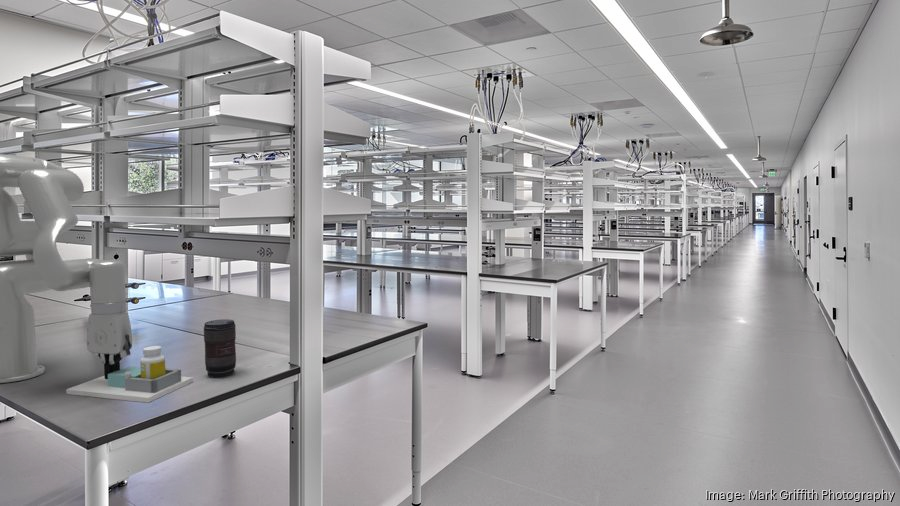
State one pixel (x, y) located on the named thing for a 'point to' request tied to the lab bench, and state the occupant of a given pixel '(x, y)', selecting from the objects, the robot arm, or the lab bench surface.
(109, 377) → the block
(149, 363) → the supplement bottle
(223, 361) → the camera lens
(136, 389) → the board
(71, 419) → the lab bench surface
